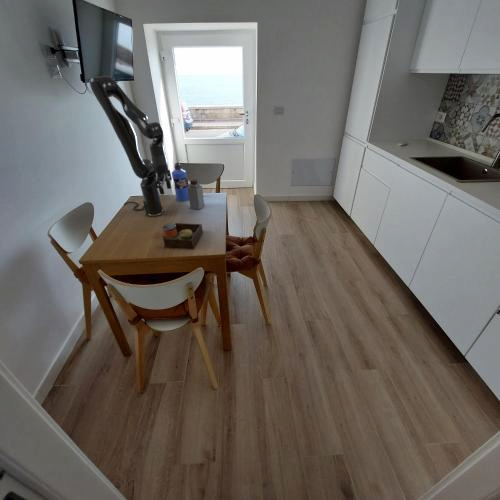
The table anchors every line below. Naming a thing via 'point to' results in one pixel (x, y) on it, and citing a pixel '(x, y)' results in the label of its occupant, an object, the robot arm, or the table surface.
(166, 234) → the tin can
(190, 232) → the tea tin
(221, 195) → the table surface
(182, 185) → the water bottle
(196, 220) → the table surface
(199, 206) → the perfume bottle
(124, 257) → the table surface
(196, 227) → the dark brown tray
